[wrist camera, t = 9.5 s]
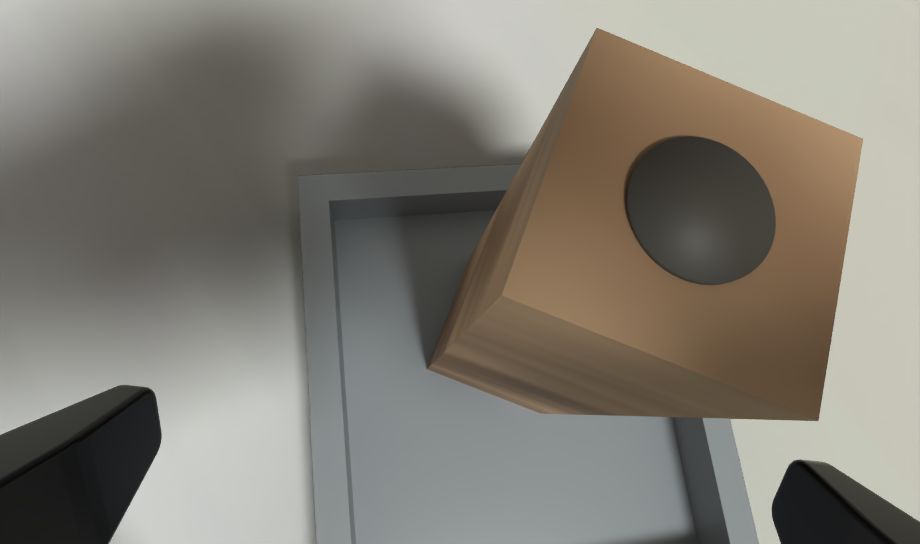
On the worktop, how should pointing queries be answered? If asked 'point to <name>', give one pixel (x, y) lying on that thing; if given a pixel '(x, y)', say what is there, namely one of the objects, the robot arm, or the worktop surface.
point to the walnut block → (659, 252)
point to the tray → (469, 397)
